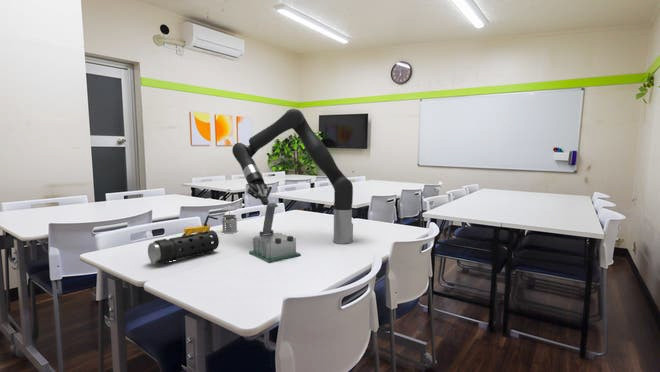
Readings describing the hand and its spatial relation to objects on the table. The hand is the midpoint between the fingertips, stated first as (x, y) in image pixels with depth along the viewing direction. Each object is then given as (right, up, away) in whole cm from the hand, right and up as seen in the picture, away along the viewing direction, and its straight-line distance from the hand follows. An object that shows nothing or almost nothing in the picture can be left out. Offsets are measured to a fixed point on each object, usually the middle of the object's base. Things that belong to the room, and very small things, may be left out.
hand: (266, 204), depth 163 cm
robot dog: (-36, -21, +17) cm, 45 cm away
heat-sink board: (+4, -23, -3) cm, 23 cm away
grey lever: (+3, -8, -3) cm, 9 cm away
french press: (-28, -18, +39) cm, 52 cm away
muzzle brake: (-34, -23, -9) cm, 42 cm away
